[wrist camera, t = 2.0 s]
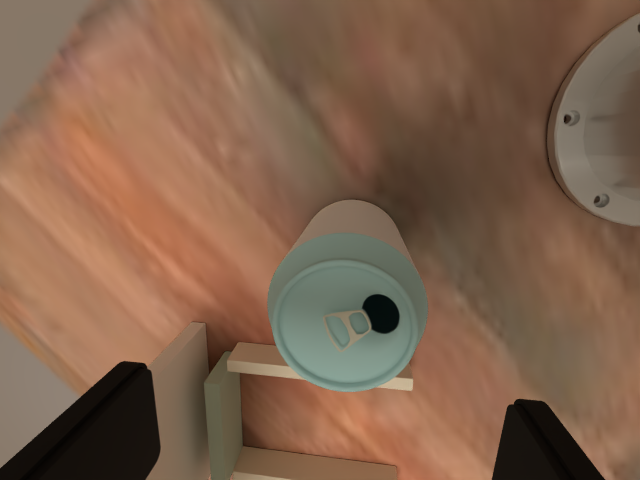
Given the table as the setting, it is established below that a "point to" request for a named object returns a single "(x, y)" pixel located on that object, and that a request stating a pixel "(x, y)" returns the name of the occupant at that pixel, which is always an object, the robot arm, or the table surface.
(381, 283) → the can
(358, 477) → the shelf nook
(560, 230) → the table surface
